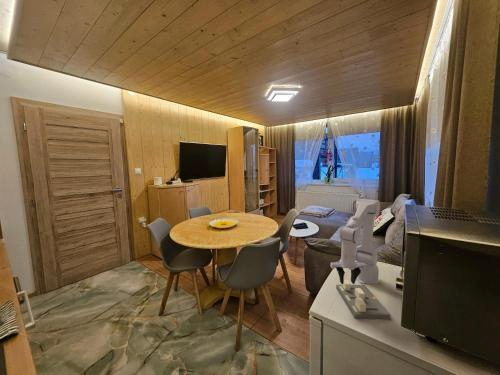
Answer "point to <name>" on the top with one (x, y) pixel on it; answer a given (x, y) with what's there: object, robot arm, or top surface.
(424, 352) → the top surface
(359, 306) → the block
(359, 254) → the robot arm
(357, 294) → the breaker
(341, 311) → the top surface
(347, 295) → the breaker panel
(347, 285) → the block
